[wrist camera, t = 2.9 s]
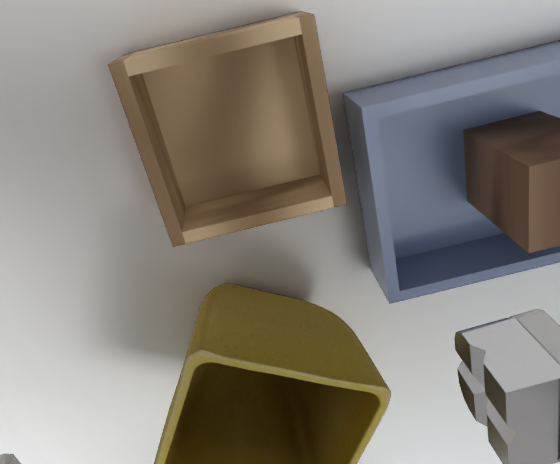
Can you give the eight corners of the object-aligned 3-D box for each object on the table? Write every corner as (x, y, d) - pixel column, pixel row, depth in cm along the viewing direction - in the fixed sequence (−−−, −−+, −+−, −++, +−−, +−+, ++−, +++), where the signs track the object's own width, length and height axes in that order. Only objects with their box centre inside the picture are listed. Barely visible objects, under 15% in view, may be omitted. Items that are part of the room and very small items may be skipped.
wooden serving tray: (301, 11, 23) (314, 14, 19) (331, 179, 26) (346, 204, 23) (123, 54, 23) (108, 64, 19) (178, 216, 26) (173, 247, 23)
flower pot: (163, 369, 30) (141, 506, 22) (198, 245, 27) (189, 352, 19) (299, 393, 32) (325, 527, 24) (348, 280, 29) (397, 391, 21)
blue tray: (647, 18, 24) (711, 22, 21) (628, 206, 29) (678, 233, 26) (343, 93, 24) (361, 107, 21) (371, 269, 29) (389, 303, 26)
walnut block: (540, 110, 25) (627, 142, 20) (539, 183, 27) (618, 231, 22) (463, 129, 25) (529, 166, 20) (467, 201, 27) (528, 253, 22)
